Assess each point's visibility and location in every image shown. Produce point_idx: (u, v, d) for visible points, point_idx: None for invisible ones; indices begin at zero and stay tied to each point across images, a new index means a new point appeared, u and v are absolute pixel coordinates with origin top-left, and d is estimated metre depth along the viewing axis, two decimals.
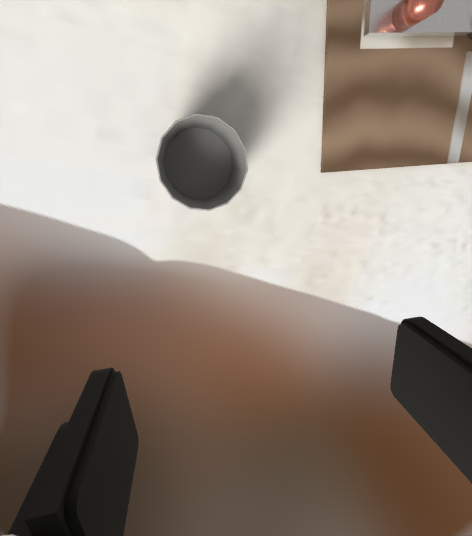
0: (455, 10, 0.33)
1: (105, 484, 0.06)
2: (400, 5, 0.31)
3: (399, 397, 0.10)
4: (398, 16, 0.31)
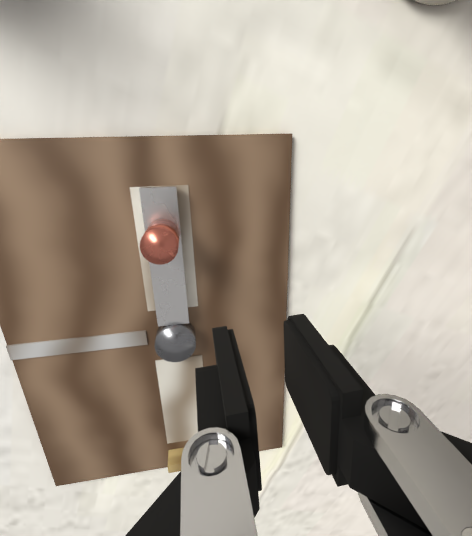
0: (176, 300, 0.28)
1: None
2: (166, 222, 0.24)
3: (289, 389, 0.11)
4: (155, 222, 0.24)
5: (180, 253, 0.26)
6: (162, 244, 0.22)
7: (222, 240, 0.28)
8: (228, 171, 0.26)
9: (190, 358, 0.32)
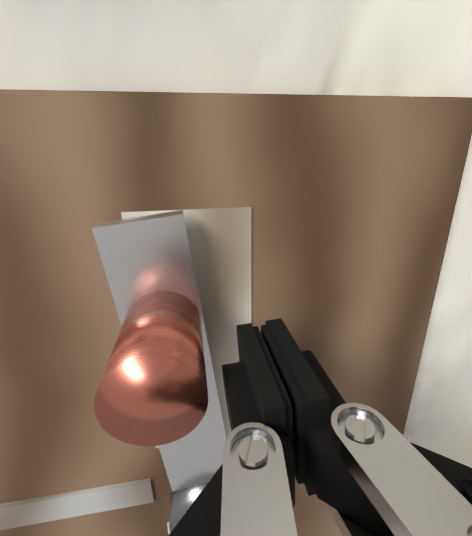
0: (204, 442, 0.13)
1: None
2: (167, 305, 0.10)
3: None
4: (140, 308, 0.10)
5: (205, 356, 0.12)
6: (161, 396, 0.07)
7: (309, 316, 0.14)
8: (337, 178, 0.12)
9: None
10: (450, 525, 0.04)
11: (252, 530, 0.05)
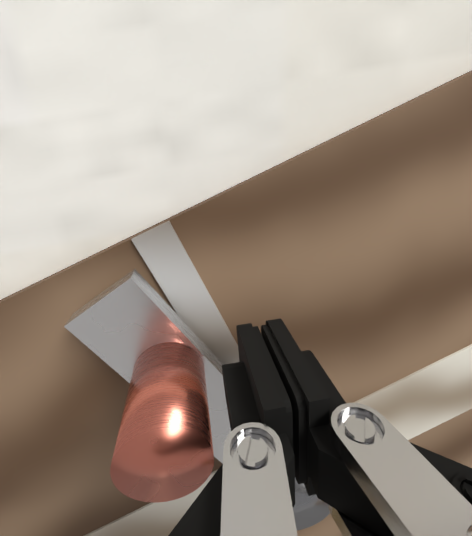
0: None
1: None
2: (155, 362, 0.10)
3: None
4: (135, 374, 0.10)
5: (221, 380, 0.12)
6: (166, 459, 0.08)
7: (447, 448, 0.19)
8: None
9: None
10: (451, 525, 0.04)
11: (252, 530, 0.05)
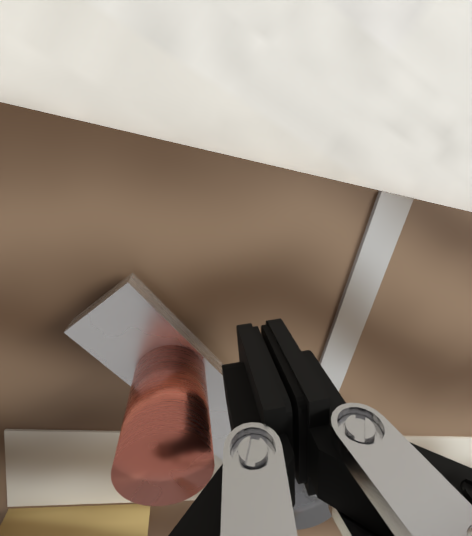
0: None
1: None
2: (155, 366, 0.10)
3: None
4: (135, 378, 0.10)
5: (223, 382, 0.12)
6: (166, 463, 0.08)
7: None
8: None
9: None
10: (451, 525, 0.04)
11: (252, 530, 0.05)
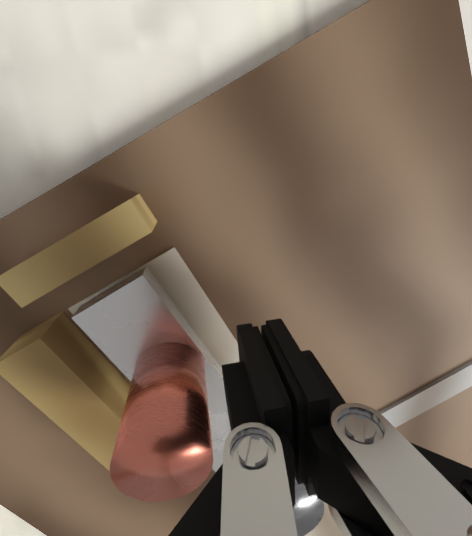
0: None
1: None
2: (159, 361, 0.10)
3: None
4: (137, 372, 0.10)
5: (220, 384, 0.12)
6: (166, 458, 0.08)
7: None
8: None
9: None
10: (450, 525, 0.04)
11: (252, 530, 0.05)
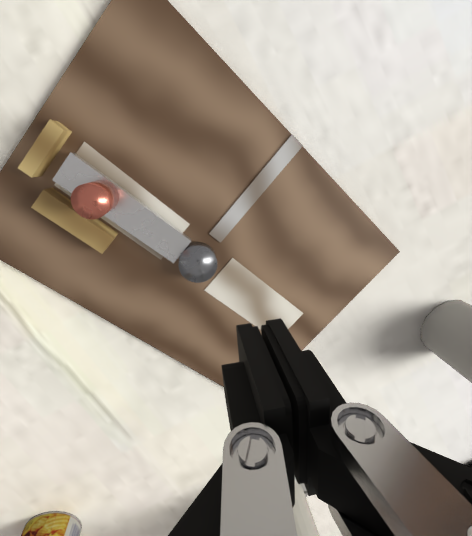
0: (164, 233, 0.29)
1: None
2: None
3: None
4: None
5: (128, 197, 0.27)
6: (89, 198, 0.23)
7: (231, 335, 0.37)
8: None
9: None
10: (450, 524, 0.04)
11: (252, 530, 0.05)
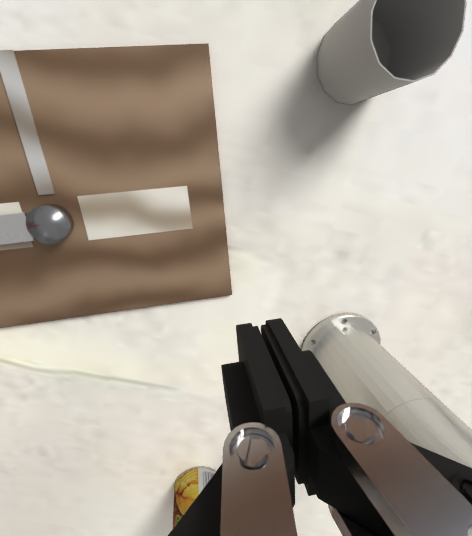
0: (0, 225, 0.31)
1: None
2: None
3: None
4: None
5: None
6: None
7: (152, 256, 0.36)
8: (204, 255, 0.37)
9: None
10: (450, 525, 0.04)
11: (252, 530, 0.05)
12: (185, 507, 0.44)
